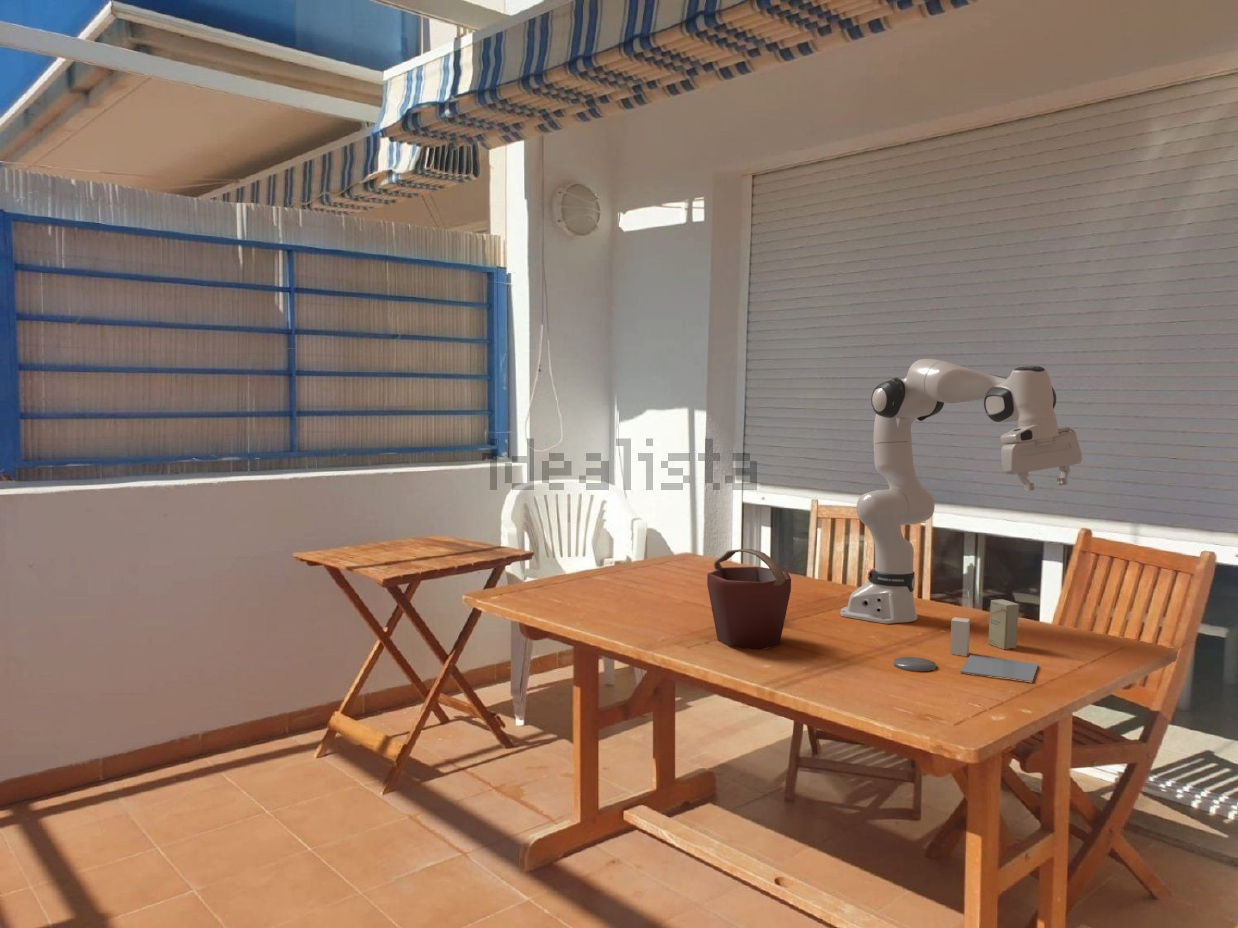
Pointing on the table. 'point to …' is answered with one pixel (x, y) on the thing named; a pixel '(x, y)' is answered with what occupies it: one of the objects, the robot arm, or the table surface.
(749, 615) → the bucket
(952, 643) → the block
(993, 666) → the tile
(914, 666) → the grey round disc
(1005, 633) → the skincare box
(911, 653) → the table surface
